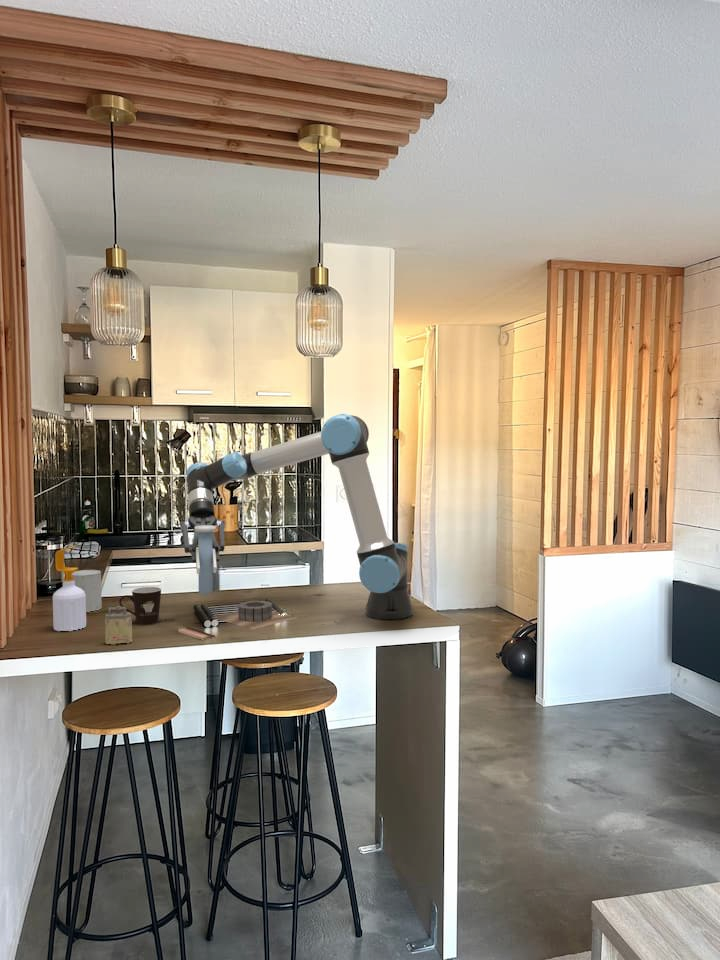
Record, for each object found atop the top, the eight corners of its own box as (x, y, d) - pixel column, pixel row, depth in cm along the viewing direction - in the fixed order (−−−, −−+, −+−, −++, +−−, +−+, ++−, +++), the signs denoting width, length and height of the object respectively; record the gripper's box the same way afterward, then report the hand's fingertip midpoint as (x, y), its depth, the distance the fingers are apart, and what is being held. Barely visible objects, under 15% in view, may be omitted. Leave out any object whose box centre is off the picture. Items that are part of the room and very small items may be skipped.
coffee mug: (165, 618, 220) (164, 586, 219) (156, 625, 211) (156, 593, 211) (128, 618, 220) (127, 586, 220) (118, 625, 212) (117, 592, 211)
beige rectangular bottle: (133, 640, 196) (132, 605, 196) (131, 644, 193) (130, 608, 192) (106, 641, 195) (105, 606, 194) (104, 645, 191) (103, 609, 191)
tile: (237, 631, 205) (237, 628, 205) (202, 640, 196) (202, 637, 196) (212, 624, 213) (212, 621, 213) (178, 632, 204) (178, 629, 204)
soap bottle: (76, 632, 204) (74, 548, 203) (47, 631, 205) (44, 548, 204) (92, 624, 213) (89, 543, 212) (63, 623, 214) (61, 543, 213)
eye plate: (299, 622, 215) (299, 604, 215) (252, 634, 202) (252, 615, 201) (257, 611, 228) (257, 594, 228) (211, 622, 215) (211, 604, 215)
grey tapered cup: (78, 605, 237) (77, 569, 236) (106, 606, 236) (105, 569, 236) (65, 612, 227) (64, 575, 226) (94, 613, 227) (93, 575, 226)
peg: (220, 592, 204) (220, 526, 203) (203, 595, 200) (202, 528, 199) (208, 589, 208) (207, 524, 207) (190, 592, 204) (190, 526, 203)
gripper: (228, 513, 220) (235, 576, 205) (172, 515, 215) (175, 579, 200) (230, 498, 215) (238, 561, 200) (172, 499, 209) (176, 564, 195)
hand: (206, 570), depth 200 cm, fingers closed on peg, 4 cm apart
